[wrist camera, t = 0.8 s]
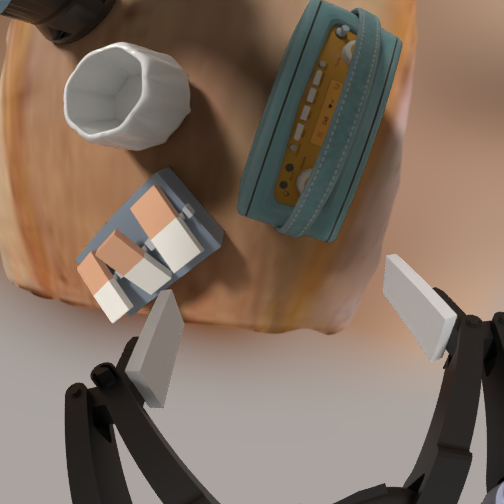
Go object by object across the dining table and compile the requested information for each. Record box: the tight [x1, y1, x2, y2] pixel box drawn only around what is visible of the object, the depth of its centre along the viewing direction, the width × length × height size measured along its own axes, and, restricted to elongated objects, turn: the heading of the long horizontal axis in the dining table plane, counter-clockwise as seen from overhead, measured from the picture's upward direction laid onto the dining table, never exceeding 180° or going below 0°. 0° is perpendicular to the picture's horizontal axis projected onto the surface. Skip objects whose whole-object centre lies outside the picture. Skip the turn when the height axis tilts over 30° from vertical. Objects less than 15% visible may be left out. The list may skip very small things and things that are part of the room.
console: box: [76, 166, 224, 316], centre depth 38 cm, size 13×21×8 cm, turn 128°
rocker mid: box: [95, 228, 172, 295], centre depth 34 cm, size 10×5×2 cm, turn 37°
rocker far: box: [77, 250, 134, 323], centre depth 36 cm, size 10×5×2 cm, turn 38°
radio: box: [237, 0, 402, 243], centre depth 26 cm, size 26×11×20 cm, turn 162°
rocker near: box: [130, 185, 204, 273], centre depth 33 cm, size 10×5×2 cm, turn 38°
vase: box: [64, 42, 191, 151], centre depth 26 cm, size 14×14×15 cm
